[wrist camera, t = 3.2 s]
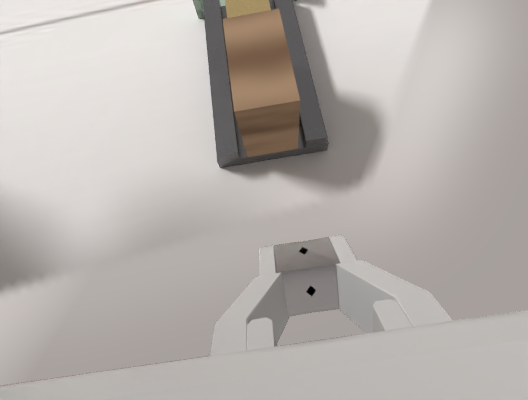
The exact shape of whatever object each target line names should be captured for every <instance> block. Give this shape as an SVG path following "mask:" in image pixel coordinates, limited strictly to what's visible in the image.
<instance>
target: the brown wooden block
mask: <svg viewBox="0 0 528 400" xmlns="http://www.w3.org/2000/svg"><path fill="white" fill-rule="evenodd" d="M223 26H224V34H225V42H226V50H227V59H228V67H229V75H230V83H231V91H232V99H233V107H234V113H235V117H236V120H237V123H238V127H239V130H240V134H241V137H242V140H243V144H244V147H245V151H246V154H247V157H252V156H258V155H264V154H270V153H276V152H282V151H288V150H294V149H298V135H299V115H300V97H299V93H298V89H297V84H296V80H295V76H294V71H293V67H292V63H291V58H290V54H289V50H288V45H287V41H286V37H285V32H284V28H283V24H282V19H281V15H280V11H279V9H274V10H268V11H263V12H257V13H252V14H247V15H241V16H236V17H231V18H225V19H223Z"/></svg>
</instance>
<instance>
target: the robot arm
mask: <svg viewBox="0 0 528 400" xmlns="http://www.w3.org/2000/svg"><path fill="white" fill-rule="evenodd" d="M259 266H260V267H259V268H260V276H256V277H255V278H254V279H253V280H252V281H251V283H250V284H249V285H248V286H247V287H246V288H245V289H244V291H243V292H242V293H241V294H240V295H239V296H238V298H237V299H236V300H235V301H234V302H233V303H232V305H231V306H230V307H229V308H228V309H227V310H226V312H225V313H224V314H223V315H222V316H221V317H220V318H219V320H218V321H217V322H216V323H215V326H214V332H213V338H212V345H211V350H210V356H205V357H199V358H191V359H185V360H177V361H170V362H163V363H156V364H149V365H142V366H135V367H128V368H121V369H114V370H107V371H101V372H93V373H86V374H79V375H72V376H65V377H58V378H51V379H44V380H38V381H31V382H23V383H16V384H10V385H3V386H0V400H528V310H525V311H518V312H512V313H505V314H498V315H491V316H484V317H477V318H470V319H463V320H456V321H453V320H452V319H451V318H450V317H449V316H448V314H447V313H446V312H445V311H444V309H443V308H442V307H441V306H440V304H439V303H438V302H437V301H436V300H435V298H434V297H433V296H432V294H431V293H430V292H428V291H426V290H424V289H421V288H419V287H417V286H415V285H413V284H411V283H409V282H407V281H405V280H402V279H401V278H398V277H396V276H394V275H392V274H390V273H388V272H386V271H384V270H382V269H380V268H378V267H376V266H373V265H371V264H369V263H367V262H365V261H363V260H359V261H358V260H357V258H356V257H355V255H354V253H353V251H352V249H351V248H350V246H349V244H348V242H347V241H346V239H345V237H344V236H343V235H342V234H340V235H335V236H330V237H325V238H320V239H314V240H309V241H303V242H294V243H286V244H279V245H274V246H273V245H271V246H265V247H260V248H259ZM336 309H340V311H341V312H342V313H343V314H344V315H346V316H347V317H348V318H349V319H350V320H351V321H353V322H354V323H355V324H356V325H357V326H358V327H359V328H361V329H362V330H363V331H364V332H365V334H358V335H351V336H344V337H337V338H330V339H323V340H317V341H310V342H303V343H296V344H289V345H282V346H277V342H278V340H279V338H280V336H281V334H282V332H283V330H284V328H285V325H286V323H287V321H288V319H289V316H295V315H300V314H306V313H312V312H319V311H328V310H336Z"/></svg>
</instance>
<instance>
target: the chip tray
mask: <svg viewBox="0 0 528 400" xmlns="http://www.w3.org/2000/svg"><path fill="white" fill-rule="evenodd" d="M292 1H295V0H292ZM193 3H194V6H195V9H196V12H197V15H198V18H204V8H203V0H193ZM220 4H221V6H226V5H225V0H220Z"/></svg>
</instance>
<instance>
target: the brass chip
mask: <svg viewBox="0 0 528 400" xmlns="http://www.w3.org/2000/svg"><path fill="white" fill-rule="evenodd" d="M225 5H226V12H227V18H231V17H236V16H241V15H247V14H252V13H257V12H263V11H268V10H271V8H270V3H269V0H225Z"/></svg>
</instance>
